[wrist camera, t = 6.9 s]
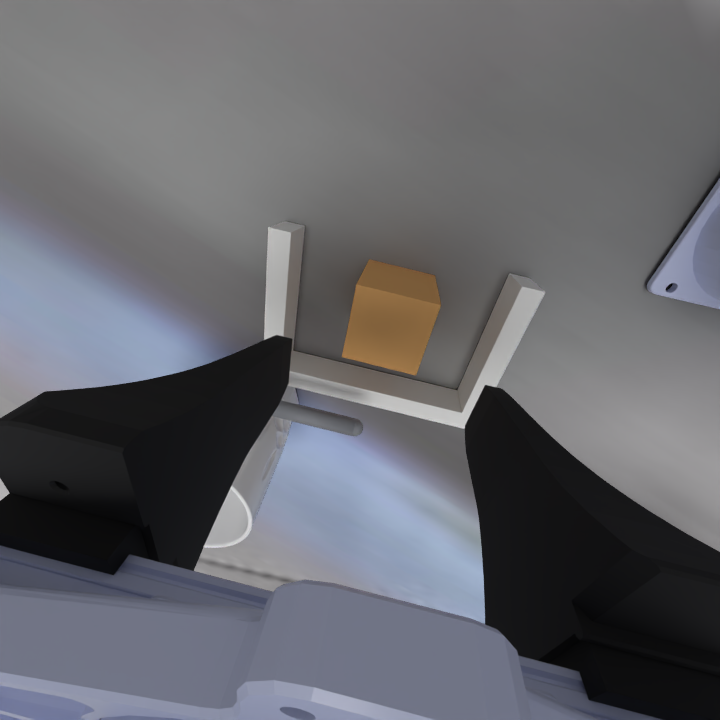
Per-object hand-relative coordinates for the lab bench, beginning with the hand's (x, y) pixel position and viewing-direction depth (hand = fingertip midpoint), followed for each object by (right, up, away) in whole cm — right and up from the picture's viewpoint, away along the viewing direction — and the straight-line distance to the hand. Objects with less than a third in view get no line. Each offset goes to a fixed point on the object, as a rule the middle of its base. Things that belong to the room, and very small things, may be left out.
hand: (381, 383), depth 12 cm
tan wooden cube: (+1, +5, +8) cm, 10 cm away
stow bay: (+1, +4, +9) cm, 9 cm away
